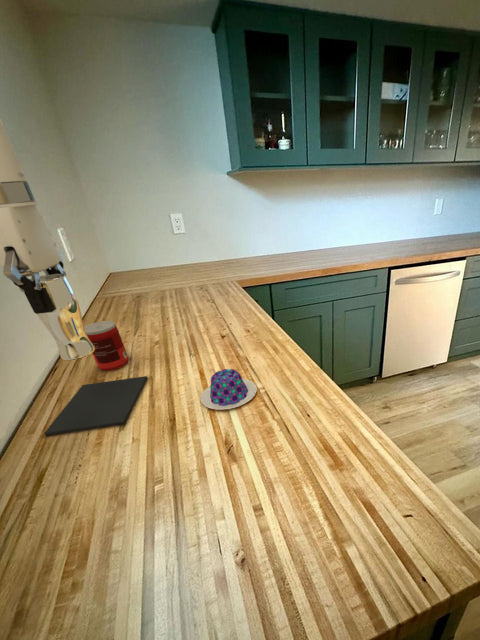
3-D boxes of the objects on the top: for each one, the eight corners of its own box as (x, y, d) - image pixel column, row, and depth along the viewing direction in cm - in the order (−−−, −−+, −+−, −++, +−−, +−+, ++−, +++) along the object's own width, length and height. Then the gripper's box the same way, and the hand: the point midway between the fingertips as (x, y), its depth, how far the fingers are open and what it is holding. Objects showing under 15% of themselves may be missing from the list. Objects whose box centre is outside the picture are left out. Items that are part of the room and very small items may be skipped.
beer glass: (62, 350, 69) (26, 277, 61) (99, 342, 71) (69, 271, 64) (55, 365, 63) (15, 286, 56) (96, 355, 66) (62, 279, 58)
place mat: (45, 436, 65) (43, 433, 65) (84, 387, 81) (82, 384, 80) (124, 424, 67) (123, 421, 66) (147, 378, 82) (146, 375, 82)
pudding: (240, 416, 66) (235, 394, 63) (189, 407, 70) (183, 386, 67) (266, 384, 75) (263, 363, 73) (220, 378, 79) (215, 358, 77)
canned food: (120, 355, 95) (105, 318, 90) (135, 361, 91) (121, 323, 85) (93, 367, 90) (76, 329, 85) (108, 374, 86) (91, 334, 80)
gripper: (13, 197, 60) (57, 294, 69) (-64, 203, 45) (5, 325, 54) (56, 193, 61) (95, 289, 70) (-5, 197, 46) (54, 319, 55)
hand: (55, 304), depth 62 cm, fingers closed on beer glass, 7 cm apart
